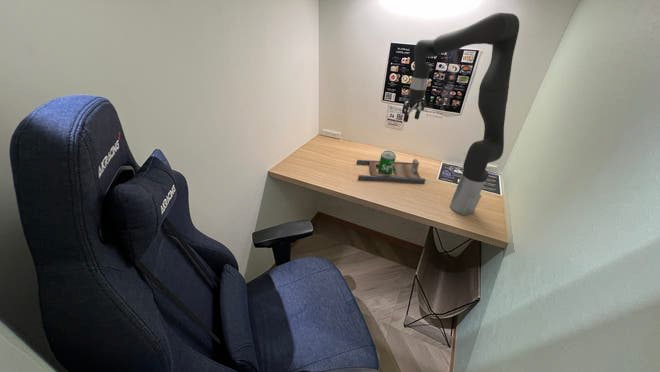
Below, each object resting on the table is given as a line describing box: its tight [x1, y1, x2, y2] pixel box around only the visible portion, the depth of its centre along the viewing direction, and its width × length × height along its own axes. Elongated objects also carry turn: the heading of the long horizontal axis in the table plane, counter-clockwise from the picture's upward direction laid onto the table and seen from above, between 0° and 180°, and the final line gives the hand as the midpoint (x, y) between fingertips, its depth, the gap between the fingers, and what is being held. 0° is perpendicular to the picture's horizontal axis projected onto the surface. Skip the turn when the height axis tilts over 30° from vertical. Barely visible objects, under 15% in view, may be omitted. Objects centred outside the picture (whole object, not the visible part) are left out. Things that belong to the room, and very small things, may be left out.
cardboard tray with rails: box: [368, 158, 421, 178], centre depth 138 cm, size 25×14×8 cm, turn 88°
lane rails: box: [356, 159, 426, 185], centre depth 139 cm, size 34×17×2 cm, turn 88°
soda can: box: [377, 150, 397, 175], centre depth 137 cm, size 8×8×12 cm
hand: (411, 120), depth 133 cm, fingers open, 8 cm apart
